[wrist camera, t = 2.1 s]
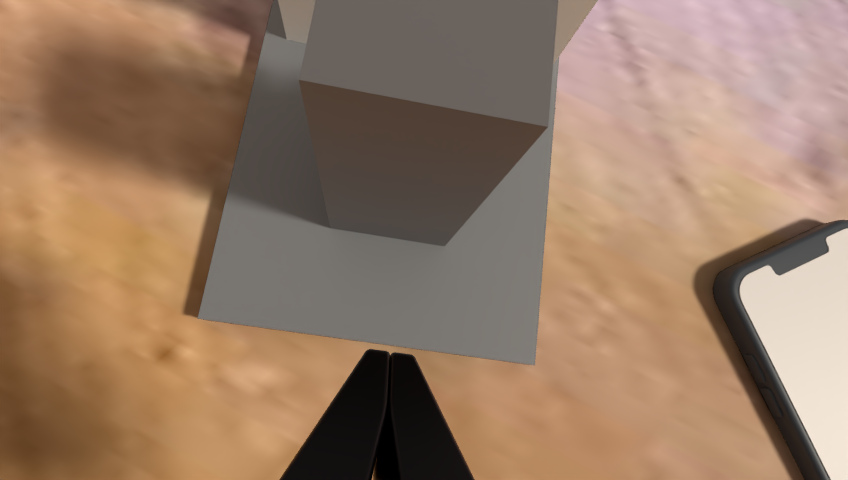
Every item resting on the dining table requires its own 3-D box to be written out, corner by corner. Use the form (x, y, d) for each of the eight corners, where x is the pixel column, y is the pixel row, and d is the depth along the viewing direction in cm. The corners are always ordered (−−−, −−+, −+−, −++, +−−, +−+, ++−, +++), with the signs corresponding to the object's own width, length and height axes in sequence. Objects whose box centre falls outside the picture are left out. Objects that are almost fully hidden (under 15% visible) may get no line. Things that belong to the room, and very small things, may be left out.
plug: (444, 246, 22) (548, 127, 10) (330, 227, 21) (298, 79, 9) (460, 121, 23) (567, -111, 11) (353, 101, 22) (350, -164, 11)
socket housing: (528, 364, 22) (638, 374, 13) (203, 319, 20) (95, 298, 12) (558, -2, 26) (655, -169, 18) (292, -59, 25) (258, -271, 16)
